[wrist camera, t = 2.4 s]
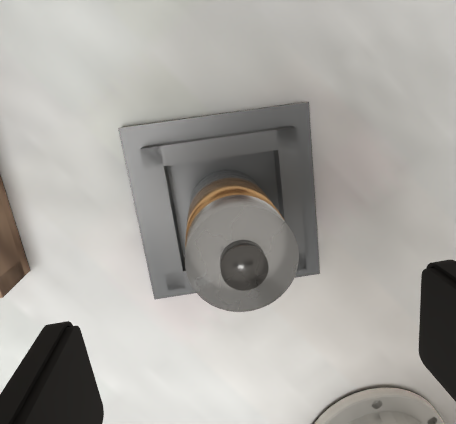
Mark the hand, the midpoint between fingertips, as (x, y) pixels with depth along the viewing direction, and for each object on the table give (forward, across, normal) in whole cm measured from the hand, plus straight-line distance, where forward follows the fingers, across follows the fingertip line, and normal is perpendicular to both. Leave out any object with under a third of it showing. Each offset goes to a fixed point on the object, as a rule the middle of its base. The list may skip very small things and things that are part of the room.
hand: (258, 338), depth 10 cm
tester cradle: (+16, 0, +1) cm, 16 cm away
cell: (+15, 0, +1) cm, 15 cm away
